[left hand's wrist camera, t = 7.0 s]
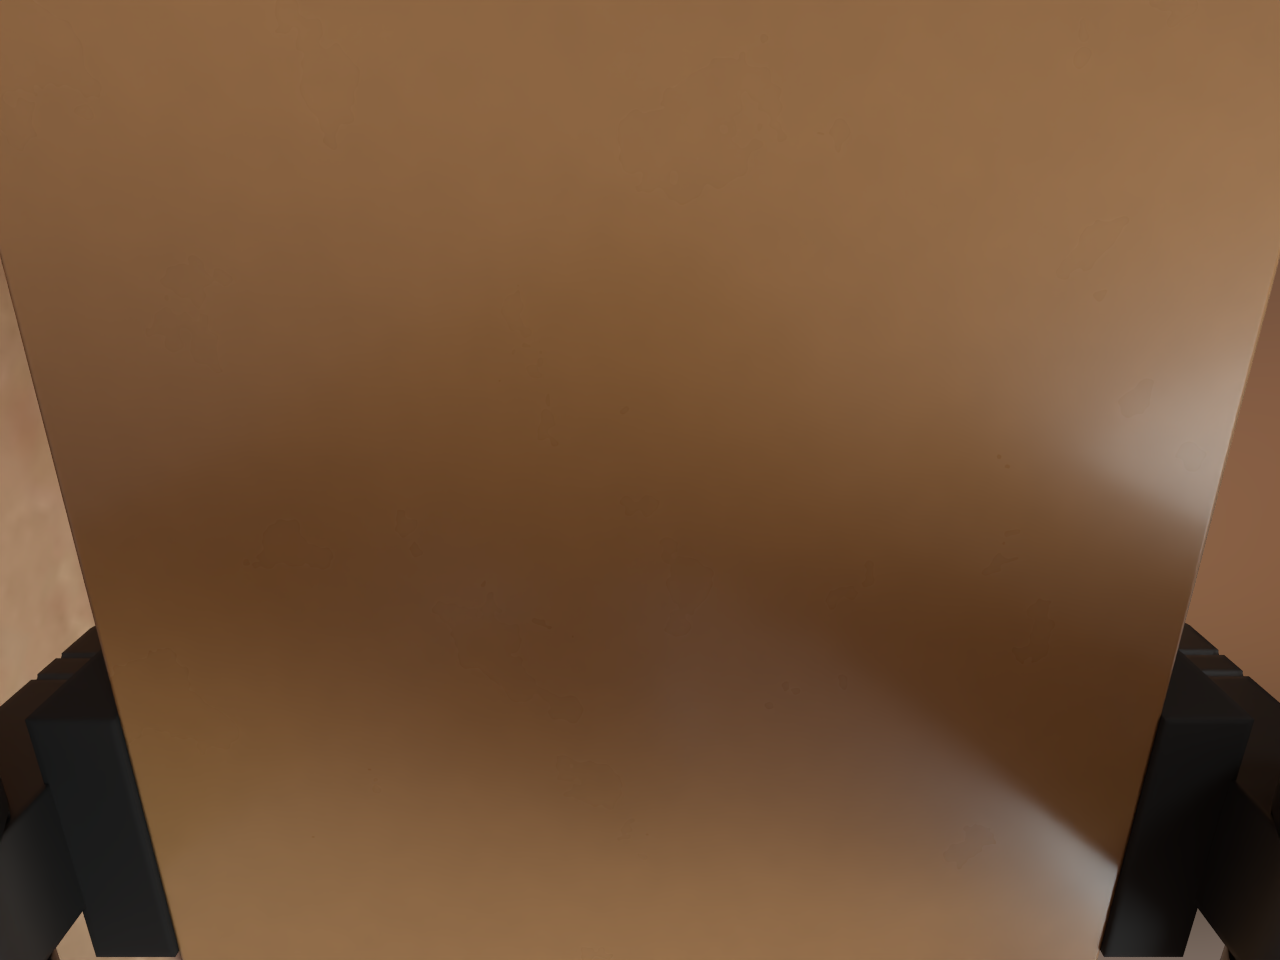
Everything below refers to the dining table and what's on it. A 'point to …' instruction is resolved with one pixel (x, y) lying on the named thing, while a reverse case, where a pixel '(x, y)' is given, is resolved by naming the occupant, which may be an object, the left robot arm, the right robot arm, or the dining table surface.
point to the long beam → (639, 451)
